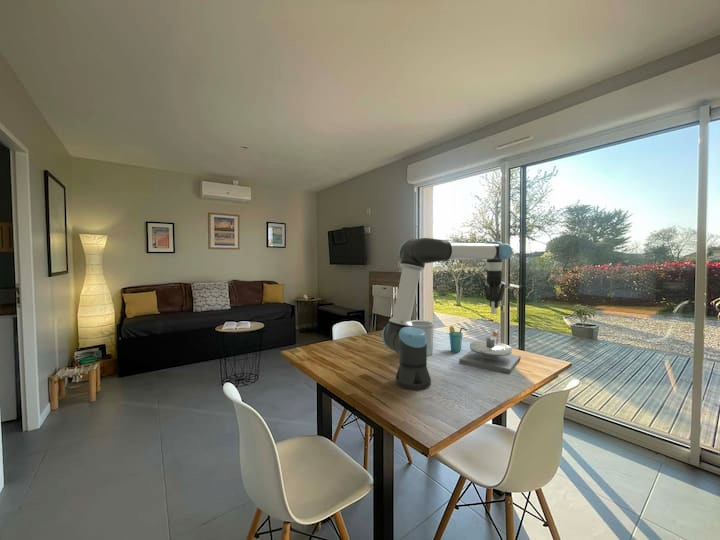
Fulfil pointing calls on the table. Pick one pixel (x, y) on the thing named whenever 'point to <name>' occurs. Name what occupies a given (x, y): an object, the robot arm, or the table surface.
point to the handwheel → (491, 346)
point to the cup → (455, 339)
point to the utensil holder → (428, 329)
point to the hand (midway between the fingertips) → (493, 313)
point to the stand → (491, 361)
